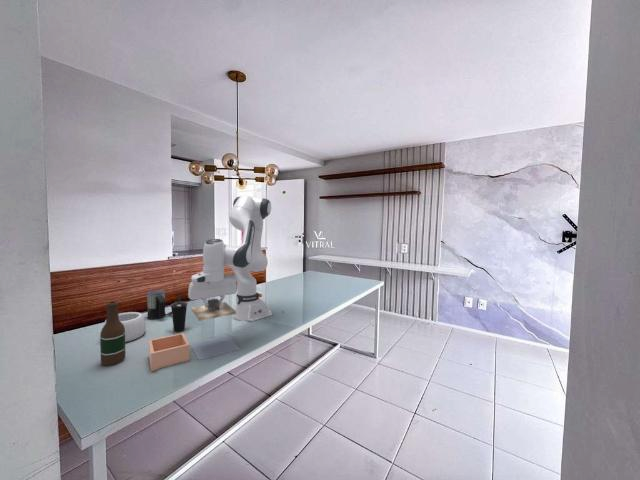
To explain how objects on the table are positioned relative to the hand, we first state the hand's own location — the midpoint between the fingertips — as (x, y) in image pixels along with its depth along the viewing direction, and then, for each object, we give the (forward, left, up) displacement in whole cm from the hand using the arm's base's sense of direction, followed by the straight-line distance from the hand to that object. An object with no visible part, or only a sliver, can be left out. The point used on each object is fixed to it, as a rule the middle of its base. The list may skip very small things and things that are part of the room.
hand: (213, 306), depth 114 cm
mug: (+32, -31, -20) cm, 49 cm away
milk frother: (+13, -54, -19) cm, 59 cm away
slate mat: (-1, 0, -19) cm, 19 cm away
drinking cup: (+9, -28, -19) cm, 35 cm away
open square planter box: (+17, 0, -19) cm, 26 cm away
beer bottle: (+35, -10, -19) cm, 42 cm away
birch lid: (0, 0, -3) cm, 3 cm away
